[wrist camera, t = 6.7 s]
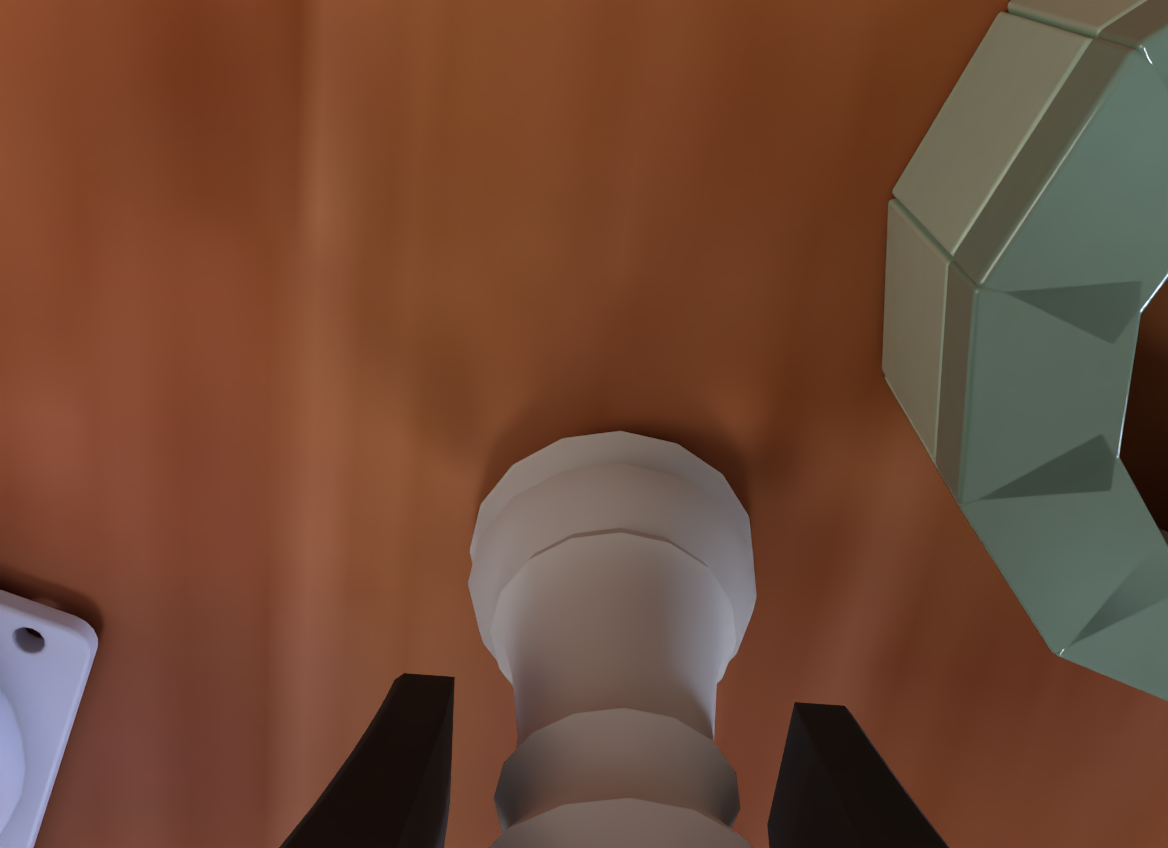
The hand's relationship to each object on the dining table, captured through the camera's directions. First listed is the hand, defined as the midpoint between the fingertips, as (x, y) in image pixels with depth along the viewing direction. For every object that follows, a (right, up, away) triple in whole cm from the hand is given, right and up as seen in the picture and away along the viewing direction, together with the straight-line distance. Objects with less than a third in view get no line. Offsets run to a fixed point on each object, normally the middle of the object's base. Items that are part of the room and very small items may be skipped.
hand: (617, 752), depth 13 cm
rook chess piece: (0, +2, +4) cm, 5 cm away
